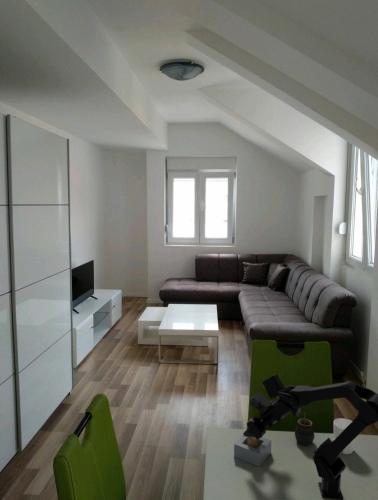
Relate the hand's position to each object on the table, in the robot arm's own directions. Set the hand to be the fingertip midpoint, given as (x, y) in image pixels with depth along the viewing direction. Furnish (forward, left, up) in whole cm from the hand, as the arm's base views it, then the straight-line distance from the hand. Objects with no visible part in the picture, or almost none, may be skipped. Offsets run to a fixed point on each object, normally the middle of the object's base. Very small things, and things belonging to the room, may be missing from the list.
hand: (249, 429), depth 145 cm
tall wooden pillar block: (-1, -1, -9) cm, 9 cm away
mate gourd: (+10, -21, -10) cm, 25 cm away
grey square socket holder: (-1, -1, -9) cm, 9 cm away
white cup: (+7, -35, -10) cm, 37 cm away
